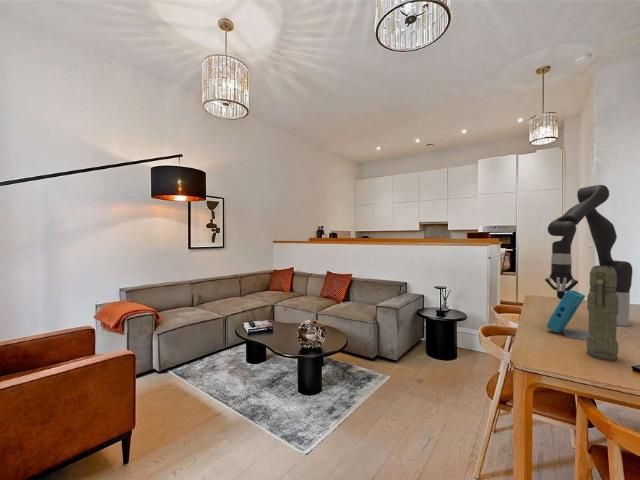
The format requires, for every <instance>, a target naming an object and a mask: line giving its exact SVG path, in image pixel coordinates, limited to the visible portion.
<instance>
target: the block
mask: <svg viewBox="0 0 640 480" xmlns="http://www.w3.org/2000/svg"><path fill="white" fill-rule="evenodd" d="M585 297H586V295H585V294H583V293H581V292H579V291H576V290H573V289H571V290H569V291H565V294H564V296H563V298H562V299H560V301H559V302H558V305H557V306H556V307H555V309H554V310H553V313H552V314H551V316H550V318H549V319H548V322H547V323H546V326H545V327H546V328H547V329H549V330H552V331H553V332H555V333H556V334H557V333H563V330H564V328H567V327H566V326H567V325H568V324H569V322H570V321H571V320H572V318H573V316H574V315H575V313H576V312H577V310H578V309H579V307H580V305H581V304H582V302H583V301H584V299H585Z"/></svg>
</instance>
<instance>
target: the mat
mask: <svg viewBox="0 0 640 480" xmlns="http://www.w3.org/2000/svg"><path fill="white" fill-rule="evenodd" d="M588 332H589V330H586V329H585V330H583V329H579V328H570V327H565V328H564V330H563V331H562V333H563V335H564V336H565V338H567V339H575V340H581V341H586V342H587V337H588Z"/></svg>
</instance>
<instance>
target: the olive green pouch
mask: <svg viewBox="0 0 640 480" xmlns="http://www.w3.org/2000/svg"><path fill="white" fill-rule="evenodd" d="M589 286H590V287H589V292H588V295H587V302H586V303H587V305H586V307H587V308H586V309H587V311H588V331H589V332H588V337H587V341H586V354H587V356H590V357H592V358H594V359H598V360H602V361H609V362H610V361H612V362H615V361H617V360H618V353H619V343H618V341H617V326H618V325H617V314H618V312H619V299H618V296H617V291H616V288H617V274H616V271H615V269H614V268H612V267H611V266H600V265H594V266H592V268H591V270H590V271H589Z"/></svg>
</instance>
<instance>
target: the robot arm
mask: <svg viewBox="0 0 640 480" xmlns="http://www.w3.org/2000/svg"><path fill="white" fill-rule="evenodd" d="M576 197H577V202H578V203H577V204H576V205H573V206H572V207H571V208H569V209H568V210H567V211H566V212H565V213H564V214H563V215H562V216H559V217H557V218H556V219H554V220H553V221H551V222H550V223H549V225H548V227H547V232H548V234H549V235H550V236H553V237H562V238H561V239H560V240H557V241H553V242H552V246H551V264H550V267H551V270H550V274H549V276H548V277H546V278H544V281H545V282H546V283H547V284H548V286H550V288H551V289H552V290H555V291H556V297H557V298H558V299H559V300H561V299H562V298H563V296H564V294H565V293H566V291H571V290H573V288H574V287H575V286H576V285H577V284H579V281H578V280H576V279H574V277H573V275H572V264H573V263H572V243H573V241H574V237H575V235H576V232H577V225H578V224H579V223H580V222H581V221H582V220H583V219H584V218H585V219H586V222H587V224H588V227H589V228H588V229H589V230H590V235H591V238H592V241H593V242H594V246H595V250H596V253H597V258H598V264H599V265H598V266H611V267H612V268H614V269H615V271H616V274H617V288H616V291H617V296H618V299H619V312H618V314H617V326H619V327H629V326H630V297H631V296H630V295H631V292H630V290H631V288H632V279H633V265H632V264H631V263H630V262H628V261H624V260H614V259H613V258H612V252H611V251H612V248H613V247H614V245H615V243H616V241H617V233H616V228H615V226H614V224H613V223H612V222H611V221H610V220H609V219H608V218H606V217H605V216H604V215H602V214H601V213H600V212H598V210H597V208H598V207H599V206H600V205H602V204H604V203H605V202H606V201H607V200H608V199H609V197H610V190H609V188H608V187H607V186H606V185H604V184H596V185H591V186H585V187H581V188H579V189H578V190H577V196H576ZM552 282H554V284H555V285H556V286H554V284H553V283H552ZM569 283H570V284H569ZM567 285H568V286H567Z"/></svg>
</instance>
